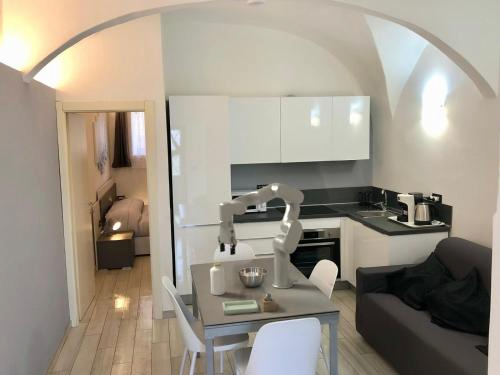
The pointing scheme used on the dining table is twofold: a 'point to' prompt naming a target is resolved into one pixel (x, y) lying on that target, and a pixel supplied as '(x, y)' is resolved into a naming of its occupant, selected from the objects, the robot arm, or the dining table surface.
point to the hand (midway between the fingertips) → (227, 253)
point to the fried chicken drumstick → (268, 304)
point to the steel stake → (268, 297)
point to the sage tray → (240, 307)
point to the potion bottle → (217, 279)
